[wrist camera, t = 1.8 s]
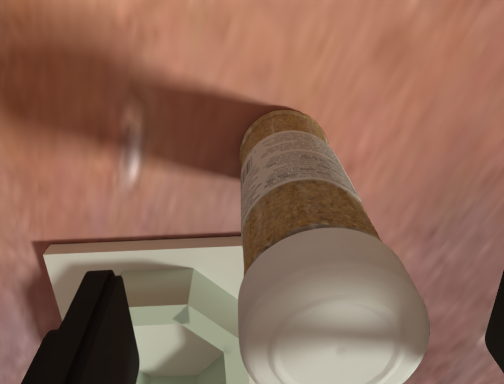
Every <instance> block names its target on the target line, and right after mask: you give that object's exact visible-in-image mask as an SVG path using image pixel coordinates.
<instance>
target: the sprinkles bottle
mask: <svg viewBox="0 0 504 384" xmlns="http://www.w3.org/2000/svg"><path fill="white" fill-rule="evenodd" d="M239 155H240V163H241V166H242V171H241V241H242V248H243V261H244V278H243V280H242V283H241V286H240V290H239V295H238V334H239V347H240V354H241V358H242V361H243V364H244V366H245V368H246V370H247V372H248V373H249V375H250V376H251V378H252V379H253V380H254V382H255V383H256V384H402V383H403V382H405V381H406V380H407V379H408V378H409V377H410V375H411V374H412V373H413V372H414V371H415V369H416V368H417V367H418V365H419V363H420V362H421V360H422V358H423V356H424V354H425V351H426V349H427V345H428V341H429V335H430V323H429V317H428V313H427V310H426V306H425V304H424V302H423V299H422V297H421V296H420V294H419V292H418V290H417V288H416V286H415V285H414V283H413V281H412V279H411V278H410V276H409V274H408V272H407V271H406V269H405V267H404V265H403V264H402V262H401V261H400V259H399V258H398V256H397V255H396V254H395V253H394V251H393V250H392V249H390V248H389V247H388V246H387V245H386V244H384V243H383V242H382V241H381V239H380V238H379V236H378V234H377V232H376V230H375V228H374V226H373V225H372V223H371V221H370V219H369V217H368V215H367V213H366V211H365V209H364V208H363V205H362V201H361V199H360V197H359V196H358V194H357V192H356V190H355V188H354V187H353V184H352V182H351V180H350V179H349V177H348V175H347V173H346V172H345V170H344V168H343V166H342V165H341V163H340V161H339V159H338V158H337V156H336V154H335V153H334V151H333V150H332V148H331V147H330V146H329V145H328V141H327V138H326V136H325V133H324V132H323V130H322V128H321V127H320V126H319V125H318V124H317V123H316V122H315V121H314V120H313V119H312V118H311V117H310V116H308V115H306V114H303V113H300V112H298V111H292V110H278V111H272V112H270V113H267V114H265V115H263V116H261V117H260V118H259V119H257V120H256V121H254V123H253V124H252V125H251V126H250V127H249V128H248V129H247V131H246V132H245V134H244V137H243V139H242V142H241V147H240V154H239Z"/></svg>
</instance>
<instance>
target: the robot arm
mask: <svg viewBox="0 0 504 384" xmlns="http://www.w3.org/2000/svg"><path fill="white" fill-rule="evenodd" d="M485 342H486V346H487V349H488V350H489V352H490V354H491V355H492V356H493V358H494V359H495V361H496V362H497V364H498V365H499V367H500V368H501V370H502V371H503V373H504V271H503V275H502V278H501V282H500V285H499V289H498V292H497V296H496V299H495V303H494V306H493V310H492V313H491V317H490V320H489V324H488V327H487V331H486V334H485ZM139 364H140V360H139V352H138V348H137V343H136V338H135V334H134V329H133V324H132V320H131V315H130V310H129V305H128V301H127V296H126V291H125V287H124V282H123V278H122V276H120V275H117V276H115V273H114V272H113V270H96V271H87V272H86V274H85V275H84V277H83V279H82V281H81V284H80V286H79V288H78V290H77V292H76V294H75V296H74V298H73V300H72V302H71V304H70V307H69V309H68V311H67V313H66V315H65V317H64V319H63V321H62V323H61V325H60V327H59V329H57V330H51V331H49V332H48V333H47V334H46V336H45V337H44V339H43V341H42V343H41V345H40V347H39V349H38V351H37V353H36V355H35V357H34V359H33V361H32V363H31V365H30V367H29V369H28V371H27V373H26V375H25V377H24V379H23V381H22V383H21V384H136V381H137V377H138V372H139Z"/></svg>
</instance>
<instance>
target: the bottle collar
mask: <svg viewBox="0 0 504 384" xmlns="http://www.w3.org/2000/svg"><path fill="white" fill-rule="evenodd" d="M43 257H44V260H45V264H46V267H47V271H48V274H49V277H50V281H51V284H52V288H53V291H54V294H55V298H56V301H57V305H58V308H59V312H60V315H61V318H62V321H63V319H64V317H65V315H66V313H67V311H68V309H69V307H70V304H71V302H72V300H73V298H74V296H75V294H76V292H77V290H78V288H79V286H80V284H81V281H82V279H83V277H84V275H85V274H86V272H87V271H96V270H113V272H114V273H115V276H117V275H120V276H122V278H123V282H124V287H125V291H126V296H127V301H128V305H129V310H130V315H131V320H132V324H133V329H134V334H135V338H136V343H137V348H138V352H139V360H140V364H139V372H138V377H137V381H136V384H256V383H255V382H254V380H253V379H252V378H251V376H250V375H249V373H248V372H247V370H246V368H245V366H244V364H243V361H242V358H241V354H240V347H239V334H238V295H239V290H240V286H241V283H242V280H243V278H244V261H243V248H242V241H241V236H234V237H211V238H189V239H166V240H143V241H120V242H98V243H75V244H52V245H50V246H49V247H48V248H47V250H46V251H45V252H44V254H43Z"/></svg>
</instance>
